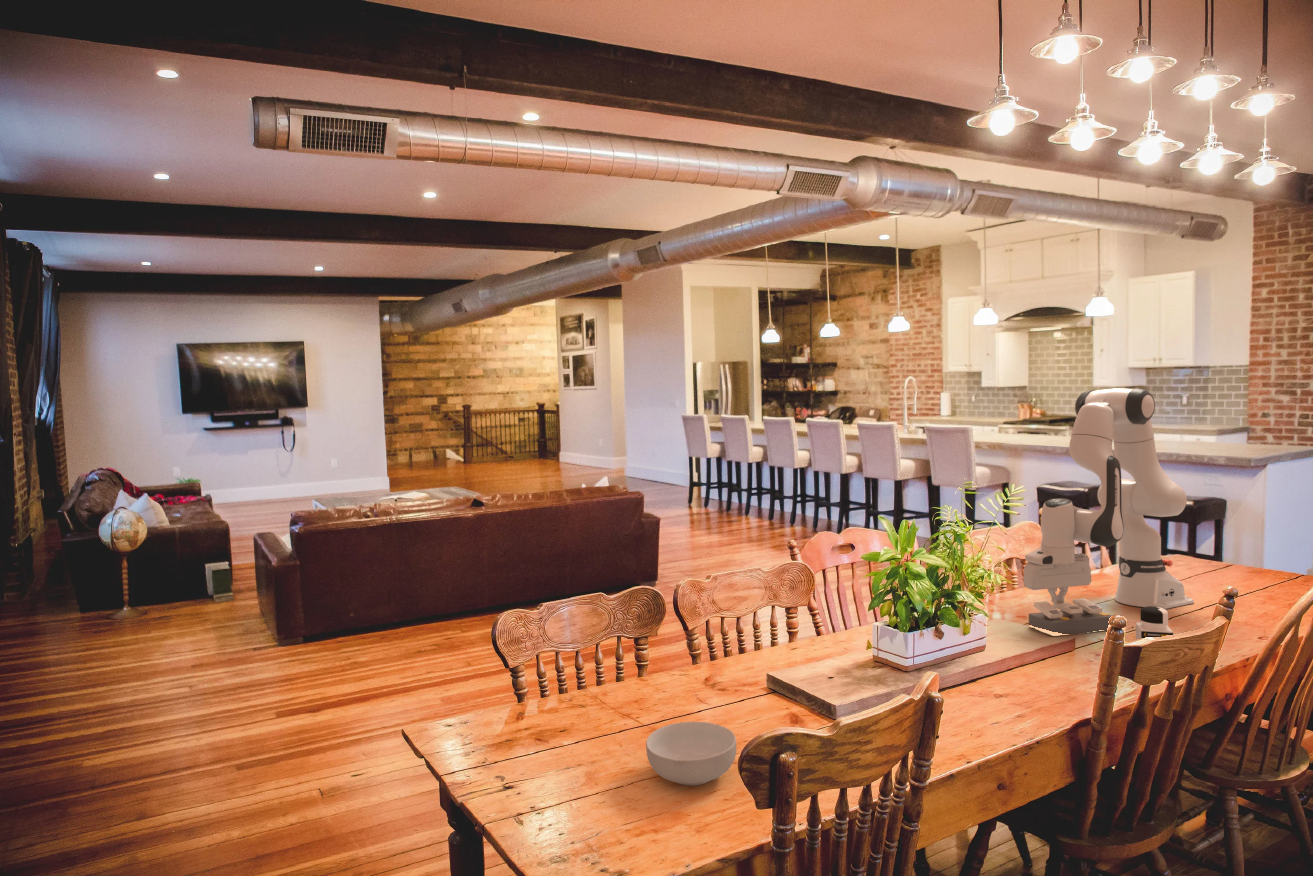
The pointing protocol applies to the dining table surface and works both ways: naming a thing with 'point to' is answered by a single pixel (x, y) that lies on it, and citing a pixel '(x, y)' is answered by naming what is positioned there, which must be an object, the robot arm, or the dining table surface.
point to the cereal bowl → (691, 752)
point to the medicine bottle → (1153, 623)
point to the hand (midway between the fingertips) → (1057, 602)
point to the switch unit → (1071, 622)
